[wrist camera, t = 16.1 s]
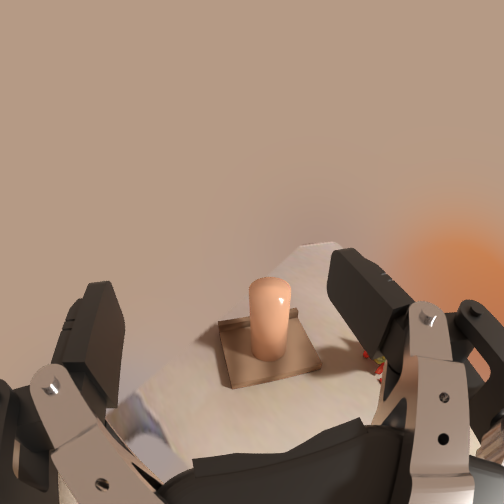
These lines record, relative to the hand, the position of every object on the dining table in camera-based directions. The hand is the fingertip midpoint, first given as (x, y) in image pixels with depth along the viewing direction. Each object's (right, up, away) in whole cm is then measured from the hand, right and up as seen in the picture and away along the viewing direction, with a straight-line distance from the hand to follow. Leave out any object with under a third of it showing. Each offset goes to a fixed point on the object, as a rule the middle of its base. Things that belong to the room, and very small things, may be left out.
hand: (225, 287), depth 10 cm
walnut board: (+3, -15, +34) cm, 37 cm away
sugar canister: (+4, -14, +33) cm, 36 cm away
